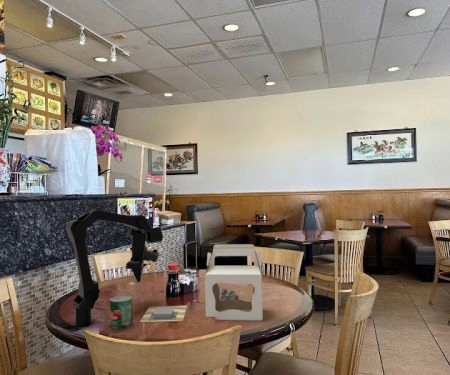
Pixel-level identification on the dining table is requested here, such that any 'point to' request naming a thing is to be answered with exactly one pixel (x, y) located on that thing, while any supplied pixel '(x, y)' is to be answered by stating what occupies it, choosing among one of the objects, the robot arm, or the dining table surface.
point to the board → (177, 316)
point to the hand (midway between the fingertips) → (139, 281)
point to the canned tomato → (121, 312)
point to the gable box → (233, 276)
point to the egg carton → (227, 295)
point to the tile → (163, 312)
